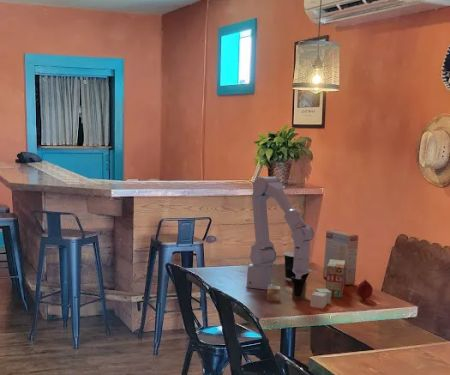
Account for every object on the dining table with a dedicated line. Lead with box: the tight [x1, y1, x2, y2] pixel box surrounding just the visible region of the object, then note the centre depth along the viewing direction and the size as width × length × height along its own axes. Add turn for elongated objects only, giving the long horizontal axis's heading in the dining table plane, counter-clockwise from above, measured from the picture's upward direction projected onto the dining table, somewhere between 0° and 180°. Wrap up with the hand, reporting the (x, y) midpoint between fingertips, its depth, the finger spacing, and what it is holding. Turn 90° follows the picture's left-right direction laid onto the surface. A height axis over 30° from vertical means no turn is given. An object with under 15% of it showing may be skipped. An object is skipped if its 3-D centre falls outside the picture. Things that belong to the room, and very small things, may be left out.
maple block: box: [266, 285, 281, 302], centre depth 229 cm, size 4×4×4 cm
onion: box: [356, 278, 373, 301], centre depth 234 cm, size 6×6×8 cm
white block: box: [310, 291, 327, 309], centre depth 223 cm, size 4×4×4 cm
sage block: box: [314, 288, 332, 305], centre depth 228 cm, size 4×4×4 cm
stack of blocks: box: [325, 259, 346, 299], centre depth 245 cm, size 21×6×12 cm, turn 166°
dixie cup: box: [283, 251, 295, 282], centre depth 259 cm, size 8×8×11 cm
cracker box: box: [322, 229, 359, 286], centre depth 259 cm, size 14×6×21 cm, turn 31°
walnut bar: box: [291, 281, 307, 301], centre depth 231 cm, size 4×4×6 cm
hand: (299, 293), depth 232 cm, fingers open, 7 cm apart
